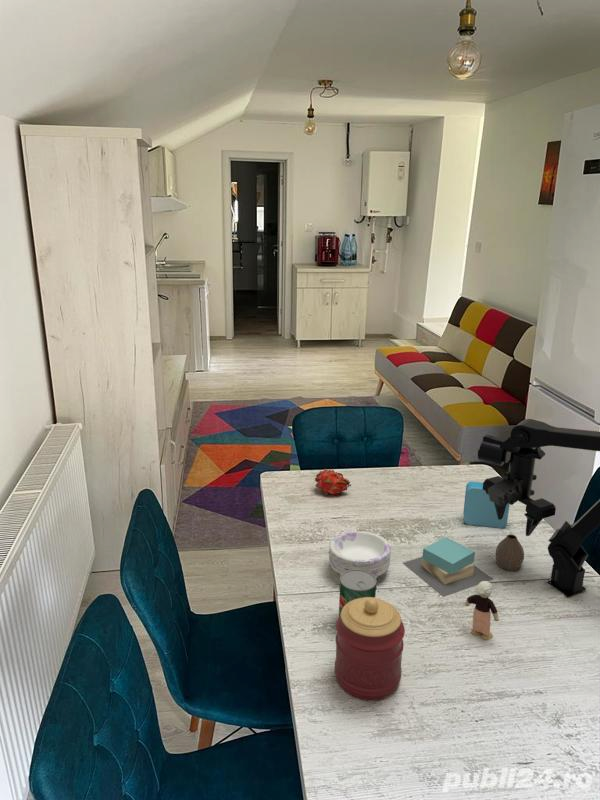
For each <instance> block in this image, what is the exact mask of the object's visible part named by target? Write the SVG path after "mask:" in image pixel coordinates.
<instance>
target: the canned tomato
mask: <svg viewBox="0 0 600 800" xmlns="http://www.w3.org/2000/svg"><path fill="white" fill-rule="evenodd" d="M339 581H340V582H339V603H338V605H339V606H338V616H339V615H340V614H341V611H342V609H343V607H344V606H345V605H346V604H347V603H348V602H350V601H352V600H355V599H358V598H363V597H373V598H376V595H377V594H376V591H377V578H375V576H374V575H373V574H371V573H370V572H368V571H365V570H359V569H353V570H348V571H346V572H344V573H343V574H342V575H340V576H339Z"/></svg>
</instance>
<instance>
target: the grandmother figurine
mask: <svg viewBox="0 0 600 800" xmlns="http://www.w3.org/2000/svg"><path fill="white" fill-rule="evenodd" d="M474 590H475V592H476V594H473V595H470V596H468V597H467V598H466V600H465V602H464V606H465V607H469V606H470V605H471V604H472V605H475V606H474V610H473V615H472V629H471V631H470V633H471V634H472V635H474V636H479V635H480V634H481V635H480V638H481V639H483V640H485V641H486V640H490V639H492V638H493V636H494V635H493V633H492V632H491V619H492V618H491V614H492V616H493V620H494V621H495V622H499V619H500V618H499V613H498V609H497V607H496V605H495V603H494V601H493V600H492V599H490V598H489V597H490V596H491V594H492V592H493V585H492V584H491V582H490V581H482V582H480V583H479V584H478V585H476V588H475V589H474Z"/></svg>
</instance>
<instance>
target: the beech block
mask: <svg viewBox="0 0 600 800" xmlns="http://www.w3.org/2000/svg"><path fill="white" fill-rule="evenodd" d="M421 557H423V555H421ZM474 565H475V564H474V563H471V564H470V565H468V566H466V567H464V568H463V569H461V570H459V571H458V572H456V573H454V574H452V575H451V574H449V573H447V572H445V571H444V570H442V569H440V568H438V567H436V566H435V565H433V564H431V563H429V562H427V561H425V560H424V559H422V567H423V568H424V569H426V570H427V571H428V572H429V573H431V574H432V575H433V576H434V577H436V578H437V579H438V580H439V581H441V582H442V583H443V584H444V585H446V584H449V583H452V582H455V581H458V580H461V579H464V578H467V577H470V576H473V571H474Z"/></svg>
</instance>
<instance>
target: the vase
mask: <svg viewBox="0 0 600 800" xmlns="http://www.w3.org/2000/svg"><path fill="white" fill-rule="evenodd" d="M494 553H495V561H496V563H497V565H498V566H499V567H500V568H502V569H503V570H506V571H516V570H519V568H521V566H522V565H523V563H524V558H525V550H524V548H523V545H522V543H520V541H519V540H518V537H517V535H515V534H510V533H509V534H507V535H506V537H504V538H503V539H502V540H501V541H499V542H498V544H497V546H496V549H495V552H494Z"/></svg>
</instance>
